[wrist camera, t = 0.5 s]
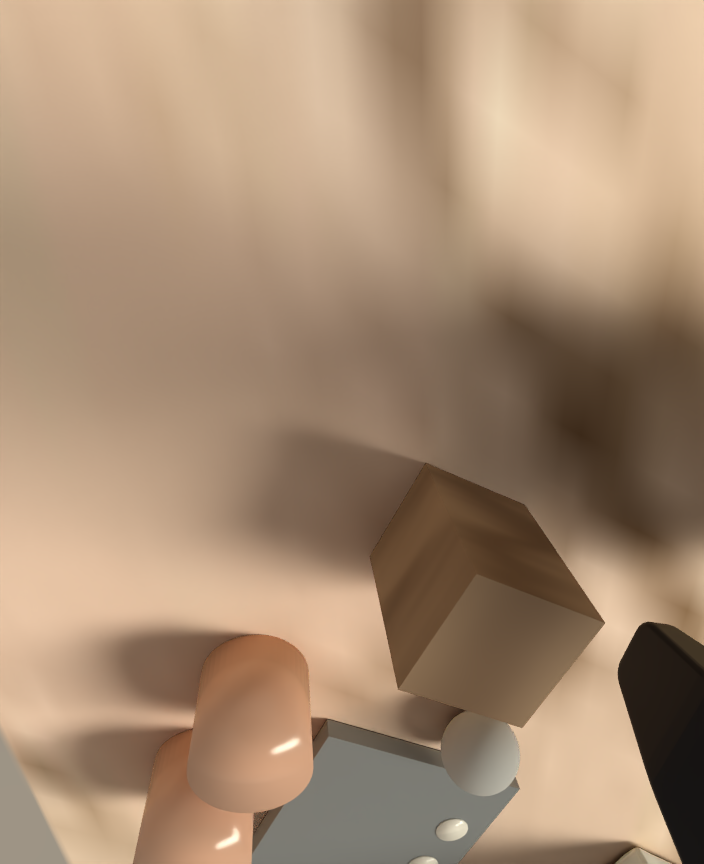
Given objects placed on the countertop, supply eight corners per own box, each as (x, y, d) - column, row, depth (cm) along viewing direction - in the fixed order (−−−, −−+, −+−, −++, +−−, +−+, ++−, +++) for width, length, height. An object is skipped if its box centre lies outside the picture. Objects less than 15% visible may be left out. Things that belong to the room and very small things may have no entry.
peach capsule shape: (271, 742, 25) (270, 841, 22) (233, 806, 26) (225, 910, 23) (175, 716, 24) (156, 817, 20) (139, 784, 25) (116, 890, 22)
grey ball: (519, 703, 26) (547, 769, 23) (480, 752, 27) (503, 821, 24) (457, 683, 25) (478, 749, 22) (420, 735, 26) (436, 804, 23)
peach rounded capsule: (326, 652, 24) (334, 744, 20) (282, 725, 25) (282, 823, 21) (225, 621, 22) (215, 711, 19) (185, 698, 24) (167, 797, 20)
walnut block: (524, 504, 22) (605, 622, 16) (465, 591, 23) (522, 727, 18) (425, 462, 21) (476, 573, 15) (369, 556, 22) (397, 689, 17)
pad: (513, 771, 27) (520, 790, 26) (413, 895, 30) (416, 914, 29) (327, 719, 25) (328, 737, 24) (237, 858, 28) (237, 878, 27)
